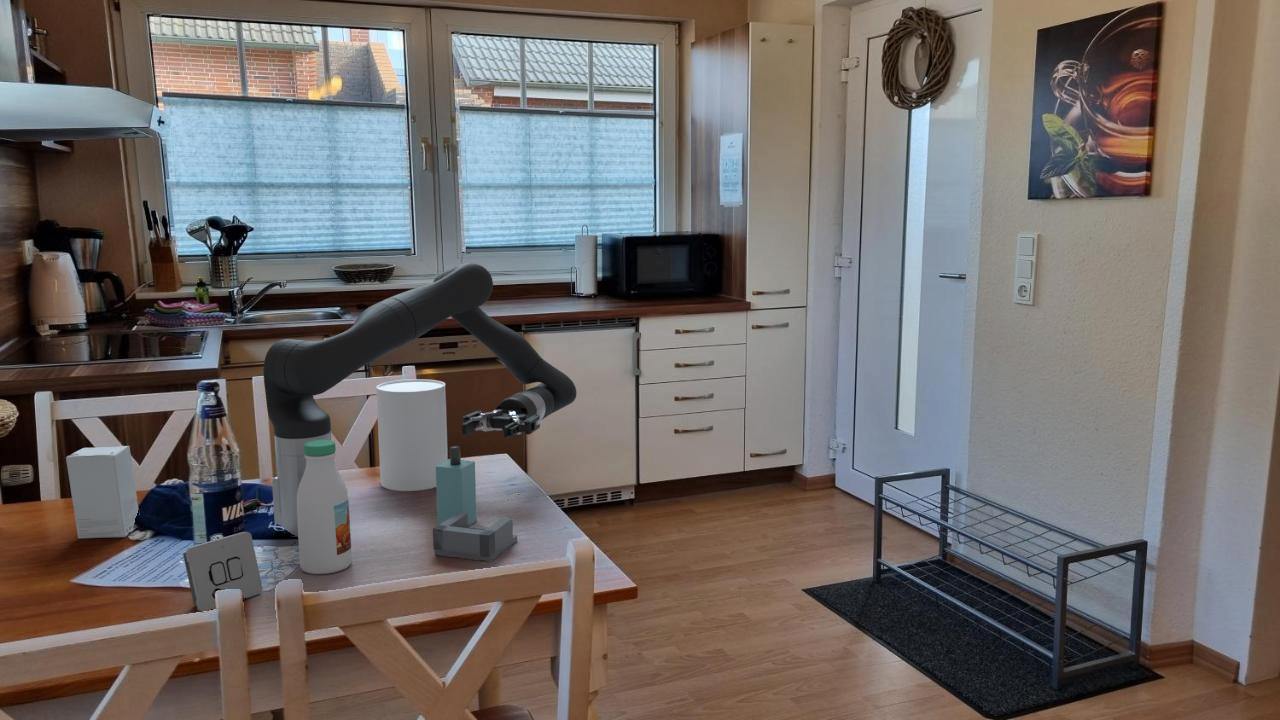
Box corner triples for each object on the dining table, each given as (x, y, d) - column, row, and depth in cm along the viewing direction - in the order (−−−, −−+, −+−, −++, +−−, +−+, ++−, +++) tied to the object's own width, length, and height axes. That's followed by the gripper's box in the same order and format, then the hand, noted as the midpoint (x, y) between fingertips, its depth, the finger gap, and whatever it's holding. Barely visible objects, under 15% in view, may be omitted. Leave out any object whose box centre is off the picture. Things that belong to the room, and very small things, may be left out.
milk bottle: (322, 579, 142) (315, 451, 139) (289, 569, 146) (281, 444, 143) (362, 563, 149) (356, 440, 145) (329, 553, 153) (323, 434, 149)
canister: (418, 468, 202) (414, 376, 199) (462, 478, 194) (459, 384, 191) (366, 483, 191) (362, 386, 188) (411, 495, 184) (407, 394, 180)
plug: (451, 517, 170) (449, 442, 168) (476, 520, 169) (474, 445, 166) (437, 526, 166) (435, 449, 163) (463, 529, 164) (460, 452, 162)
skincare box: (141, 527, 165) (134, 445, 163) (123, 539, 159) (116, 454, 157) (92, 527, 165) (84, 445, 162) (73, 539, 159) (64, 454, 156)
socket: (464, 534, 162) (463, 509, 161) (517, 540, 159) (516, 515, 158) (433, 555, 152) (432, 528, 151) (489, 562, 149) (489, 535, 148)
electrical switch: (201, 615, 130) (193, 550, 129) (183, 609, 133) (175, 545, 132) (264, 594, 137) (257, 532, 136) (246, 588, 140) (239, 528, 139)
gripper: (488, 391, 192) (449, 409, 177) (553, 396, 188) (519, 414, 173) (489, 427, 194) (451, 448, 178) (554, 432, 189) (520, 453, 174)
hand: (484, 431), depth 176 cm, fingers open, 8 cm apart
